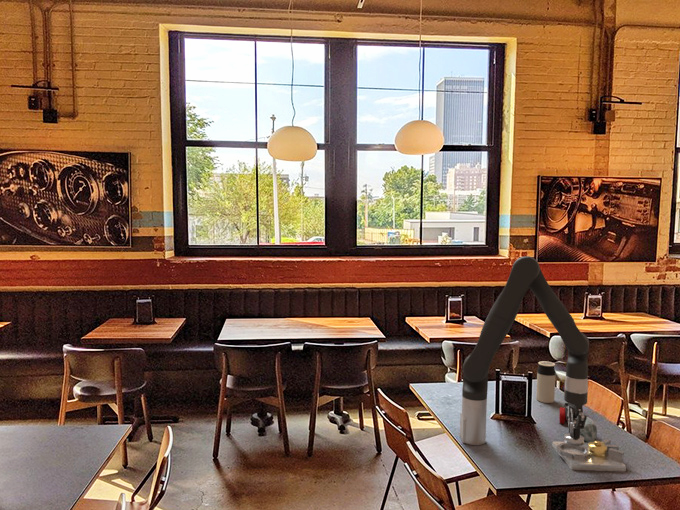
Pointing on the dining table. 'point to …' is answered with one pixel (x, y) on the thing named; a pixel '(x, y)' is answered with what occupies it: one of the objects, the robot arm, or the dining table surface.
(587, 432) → the streaked stone egg
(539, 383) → the travel mug
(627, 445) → the dining table surface
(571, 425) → the silver knob
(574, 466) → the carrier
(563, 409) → the mechanical linkage
